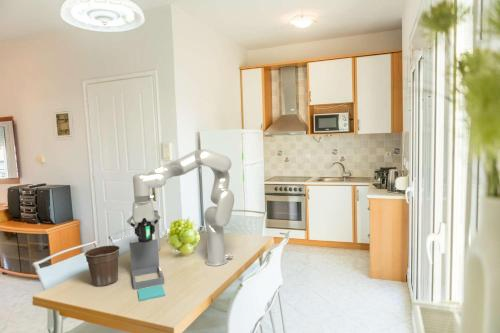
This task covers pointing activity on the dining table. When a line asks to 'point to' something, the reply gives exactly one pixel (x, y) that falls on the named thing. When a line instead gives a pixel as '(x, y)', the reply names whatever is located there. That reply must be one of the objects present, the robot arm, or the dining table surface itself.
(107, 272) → the plant pot
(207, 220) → the robot arm
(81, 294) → the dining table surface
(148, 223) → the supplement bottle
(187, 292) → the dining table surface
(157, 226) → the cylinder vase
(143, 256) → the case
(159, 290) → the mat
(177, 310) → the dining table surface
